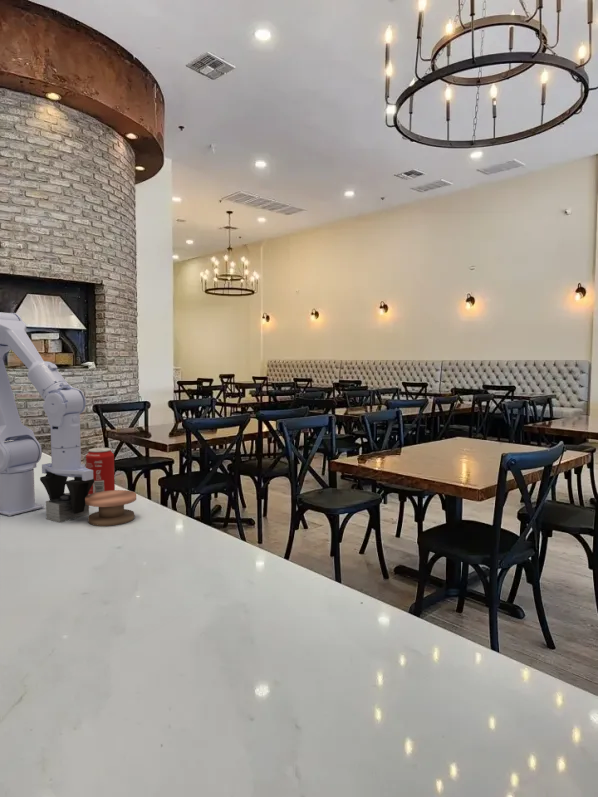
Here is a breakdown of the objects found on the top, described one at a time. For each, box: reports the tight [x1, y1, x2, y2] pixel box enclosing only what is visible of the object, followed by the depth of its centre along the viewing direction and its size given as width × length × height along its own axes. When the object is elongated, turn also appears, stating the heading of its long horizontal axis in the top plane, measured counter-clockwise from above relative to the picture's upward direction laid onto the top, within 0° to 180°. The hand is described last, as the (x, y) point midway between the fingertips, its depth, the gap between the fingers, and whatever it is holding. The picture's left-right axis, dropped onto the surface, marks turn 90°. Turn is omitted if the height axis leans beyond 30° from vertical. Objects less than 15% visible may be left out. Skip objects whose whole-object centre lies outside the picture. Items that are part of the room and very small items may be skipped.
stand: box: [85, 489, 137, 527], centre depth 113 cm, size 10×10×5 cm
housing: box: [45, 492, 90, 524], centre depth 115 cm, size 4×7×5 cm, turn 148°
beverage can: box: [85, 447, 116, 495], centre depth 129 cm, size 6×6×12 cm
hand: (67, 510), depth 115 cm, fingers open, 6 cm apart
